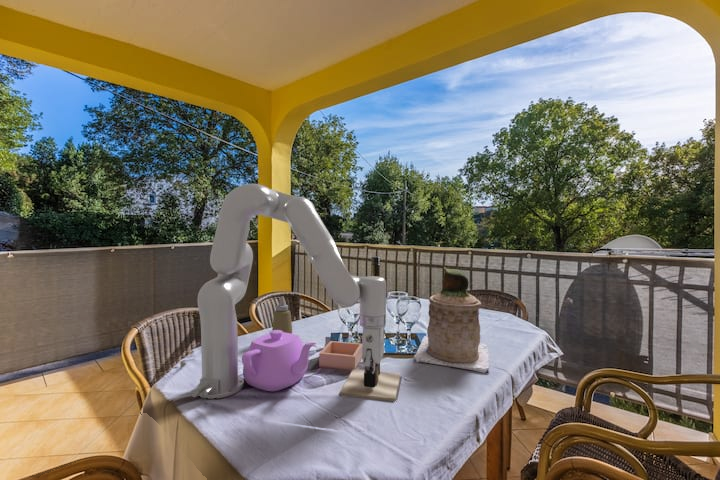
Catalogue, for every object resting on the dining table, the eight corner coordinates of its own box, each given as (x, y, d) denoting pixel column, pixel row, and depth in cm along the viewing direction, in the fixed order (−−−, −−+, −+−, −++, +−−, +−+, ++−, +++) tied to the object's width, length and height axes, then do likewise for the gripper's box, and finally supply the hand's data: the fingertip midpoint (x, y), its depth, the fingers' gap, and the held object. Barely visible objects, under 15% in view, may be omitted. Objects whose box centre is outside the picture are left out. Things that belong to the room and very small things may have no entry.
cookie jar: (490, 375, 106) (493, 274, 104) (412, 364, 114) (413, 270, 112) (487, 347, 129) (489, 264, 128) (423, 340, 137) (424, 262, 136)
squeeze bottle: (290, 344, 131) (289, 298, 130) (269, 344, 131) (269, 298, 130) (294, 337, 139) (294, 294, 138) (275, 337, 139) (274, 294, 138)
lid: (394, 401, 89) (395, 379, 88) (340, 394, 92) (340, 374, 92) (400, 376, 103) (400, 357, 103) (353, 371, 107) (353, 353, 106)
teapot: (223, 391, 94) (222, 338, 94) (276, 364, 113) (276, 320, 112) (284, 414, 83) (284, 354, 82) (332, 380, 101) (332, 331, 101)
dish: (355, 372, 107) (355, 356, 107) (319, 368, 110) (319, 353, 109) (362, 357, 119) (363, 343, 118) (330, 354, 121) (330, 340, 121)
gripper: (380, 329, 87) (380, 396, 88) (389, 312, 104) (389, 369, 105) (352, 327, 89) (352, 393, 90) (365, 311, 106) (365, 366, 107)
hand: (372, 379), depth 98 cm, fingers open, 6 cm apart
